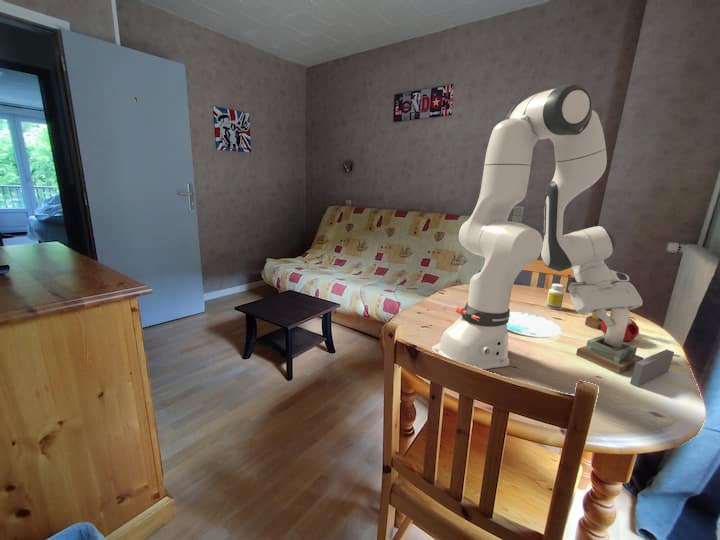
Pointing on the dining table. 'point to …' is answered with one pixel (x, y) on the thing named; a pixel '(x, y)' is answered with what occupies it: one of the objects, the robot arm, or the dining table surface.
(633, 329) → the pomegranate
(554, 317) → the dining table surface
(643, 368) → the backstop wall
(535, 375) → the dining table surface
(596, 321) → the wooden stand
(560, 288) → the supplement bottle
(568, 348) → the dining table surface
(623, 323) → the dowel
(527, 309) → the dining table surface
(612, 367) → the socket block
